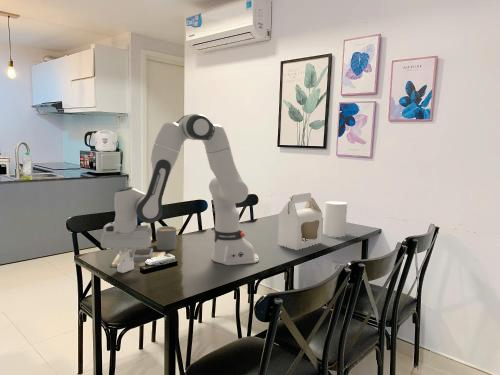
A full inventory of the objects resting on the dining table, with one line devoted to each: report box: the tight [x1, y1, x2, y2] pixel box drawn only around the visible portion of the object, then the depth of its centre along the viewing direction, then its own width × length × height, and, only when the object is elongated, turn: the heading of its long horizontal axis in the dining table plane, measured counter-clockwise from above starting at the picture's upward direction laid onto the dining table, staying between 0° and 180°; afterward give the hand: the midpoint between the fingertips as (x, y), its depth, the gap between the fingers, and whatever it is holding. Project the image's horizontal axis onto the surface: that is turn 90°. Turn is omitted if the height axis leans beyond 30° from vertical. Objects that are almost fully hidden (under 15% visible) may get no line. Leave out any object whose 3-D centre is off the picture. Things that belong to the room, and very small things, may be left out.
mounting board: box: [111, 251, 166, 268], centre depth 174 cm, size 22×16×1 cm
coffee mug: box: [155, 225, 177, 251], centre depth 195 cm, size 13×10×10 cm
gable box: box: [277, 192, 323, 251], centre depth 206 cm, size 22×13×28 cm, turn 135°
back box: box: [133, 248, 154, 262], centre depth 173 cm, size 11×12×2 cm
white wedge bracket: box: [116, 248, 135, 274], centre depth 160 cm, size 4×10×9 cm
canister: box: [322, 200, 348, 238], centre depth 229 cm, size 14×14×20 cm
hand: (126, 257), depth 160 cm, fingers open, 3 cm apart
